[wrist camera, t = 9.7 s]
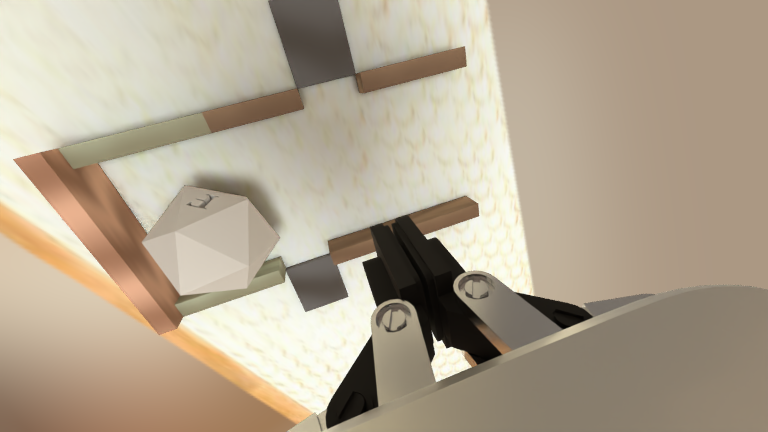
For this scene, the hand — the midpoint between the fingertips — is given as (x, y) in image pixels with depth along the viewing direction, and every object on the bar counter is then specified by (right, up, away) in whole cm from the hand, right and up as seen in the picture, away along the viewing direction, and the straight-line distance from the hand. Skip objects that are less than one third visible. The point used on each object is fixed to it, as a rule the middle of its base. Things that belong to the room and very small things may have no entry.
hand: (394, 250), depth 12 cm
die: (-15, +1, +15) cm, 21 cm away
